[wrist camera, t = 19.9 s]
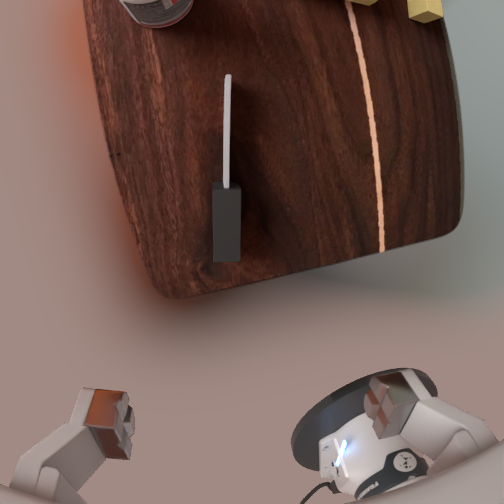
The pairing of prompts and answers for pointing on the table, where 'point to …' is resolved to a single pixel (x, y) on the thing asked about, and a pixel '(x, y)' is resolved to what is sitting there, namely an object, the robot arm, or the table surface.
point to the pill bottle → (157, 11)
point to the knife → (226, 199)
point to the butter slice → (425, 10)
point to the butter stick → (364, 1)
